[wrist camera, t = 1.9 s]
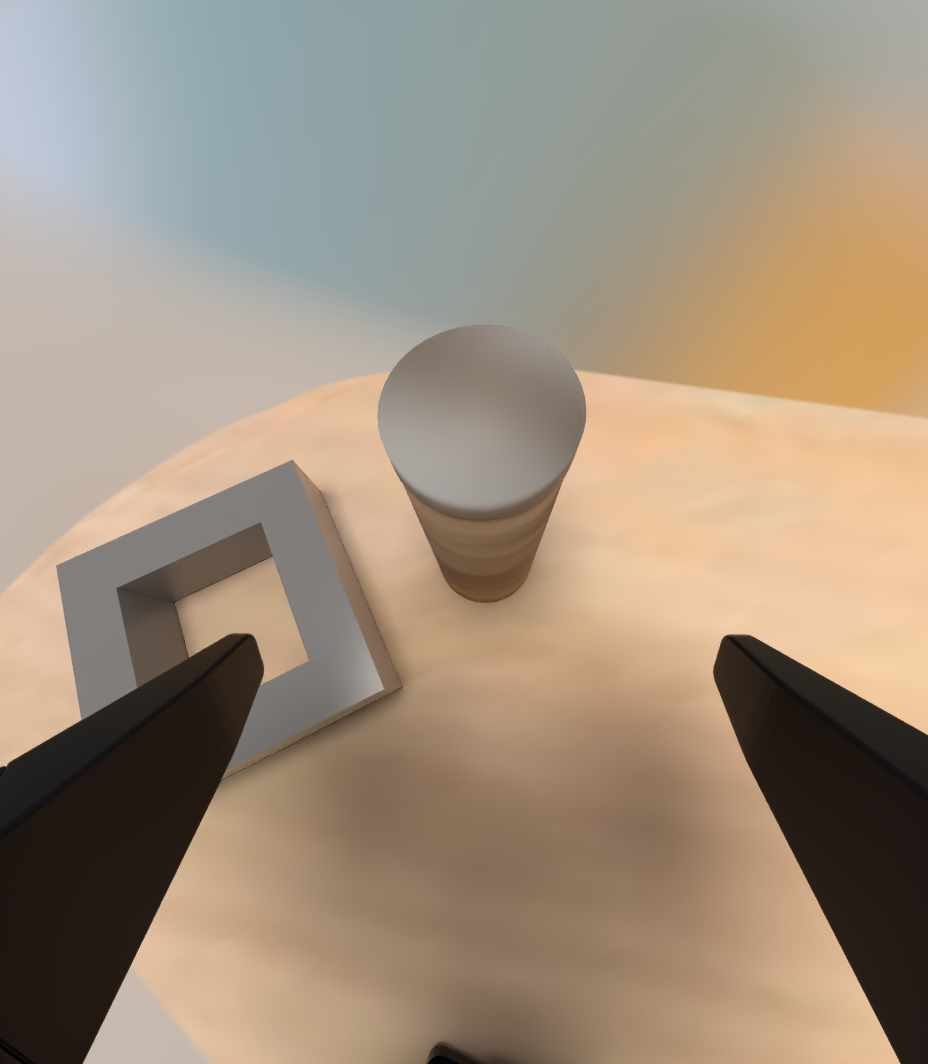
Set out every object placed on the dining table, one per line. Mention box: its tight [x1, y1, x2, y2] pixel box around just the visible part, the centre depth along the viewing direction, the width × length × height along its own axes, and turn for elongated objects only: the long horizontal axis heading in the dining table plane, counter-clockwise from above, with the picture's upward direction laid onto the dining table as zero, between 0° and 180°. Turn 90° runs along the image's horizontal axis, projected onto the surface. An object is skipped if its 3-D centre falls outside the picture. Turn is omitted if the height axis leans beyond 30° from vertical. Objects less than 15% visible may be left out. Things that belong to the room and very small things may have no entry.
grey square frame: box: [56, 460, 402, 780], centre depth 19 cm, size 11×11×4 cm
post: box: [378, 325, 586, 602], centre depth 15 cm, size 5×5×12 cm
